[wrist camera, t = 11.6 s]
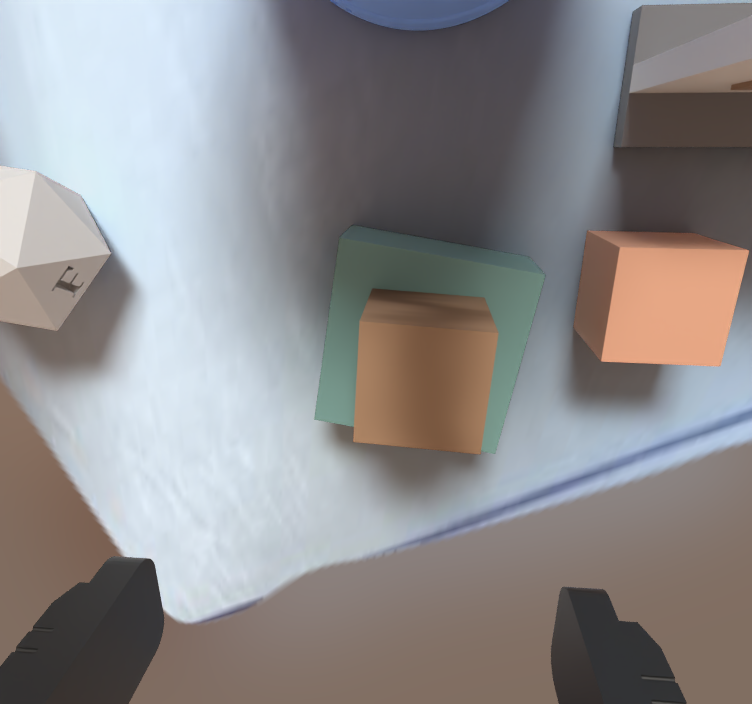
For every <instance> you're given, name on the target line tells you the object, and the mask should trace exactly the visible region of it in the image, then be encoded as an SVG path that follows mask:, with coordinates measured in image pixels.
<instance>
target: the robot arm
mask: <svg viewBox="0 0 752 704" xmlns="http://www.w3.org/2000/svg"><path fill="white" fill-rule="evenodd" d="M163 627H164V614H163V608H162V602H161V597H160V591H159V586H158V580H157V575H156V569H155V565H154V562H153V561H152V560H151V559H147V558H132V557H115V556H114V557H111V558H109V559H108V560H107V561H106V562H105V563H104V564H103V566H102V567H101V568H100V569H99V571H98V572H97V573H96V575H95V576H94V578H93V579H92V580H91V581H90V583H78V584H77V585H76V586H74V587H73V588H71V589H70V590H69V591H67V592H66V593H65V594H63V595H62V596H61V597H59V598H58V599H57V600H55V601H54V602H53V603H52V604H51V605H50V606H49V608H48V609H47V610H46V611H45V613H44V614H43V615H42V616H41V617H40V619H39V620H38V621H37V622H36V624H35V625H34V626H33V630H32V631H31V632H28V633H27V635H26V636H25V637H24V638H23V639H22V641H21V642H20V643H19V644H18V645H17V647H16V651H15V652H12V653H11V654H10V655H9V656H8V658H7V659H6V660H5V661H4V663H3V664H2V665H1V666H0V704H129V701H130V700H131V698H132V696H133V694H134V692H135V690H136V688H137V686H138V685H139V683H140V681H141V679H142V677H143V675H144V674H145V672H146V670H147V668H148V666H149V664H150V662H151V660H152V659H153V657H154V655H155V653H156V651H157V649H158V646H159V644H160V641H161V637H162V633H163ZM551 665H552V674H553V681H554V685H555V690H556V694H557V698H558V702H559V704H686V700H685V698H684V696H683V694H682V692H681V690H680V688H679V686H678V683H675V677H674V675H673V673H672V671H671V668H670V666H669V664H668V662H667V660H666V658H665V656H664V653H663V651H662V649H661V648H660V646H659V645H658V644H657V643H656V642H655V641H654V640H653V639H652V638H651V637H650V636H649V635H648V633H647V632H646V631H645V630H644V629H643V628H642V627H641V626H640V625H639V624H638V622H625V621H619V620H618V618H617V616H616V613H615V610H614V608H613V606H612V603H611V601H610V598H609V596H608V594H607V593H606V591H605V590H603V589H589V588H574V587H562V588H561V591H560V595H559V601H558V607H557V614H556V621H555V627H554V633H553V639H552V646H551Z"/></svg>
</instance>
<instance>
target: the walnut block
mask: <svg viewBox="0 0 752 704" xmlns="http://www.w3.org/2000/svg"><path fill="white" fill-rule="evenodd" d="M498 334H499V333H498V330H497V328H496V325H495V323H494V320H493V318H492V315H491V313H490V310H489V308H488V305H487V303H486V300H485V298H484V297H472V296H460V295H448V294H436V293H424V292H411V291H399V290H387V289H375V288H372V290H371V293H370V296H369V298H368V301H367V303H366V306H365V308H364V311H363V314H362V316H361V319H360V322H359V341H358V360H357V379H356V398H355V416H354V435H353V442H359V443H369V444H380V445H390V446H400V447H410V448H420V449H430V450H441V451H451V452H461V453H471V454H481V447H482V441H483V434H484V427H485V421H486V414H487V407H488V401H489V394H490V387H491V381H492V374H493V367H494V361H495V354H496V347H497V341H498Z"/></svg>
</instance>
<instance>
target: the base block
mask: <svg viewBox="0 0 752 704" xmlns="http://www.w3.org/2000/svg"><path fill="white" fill-rule="evenodd" d="M545 276H546V275H545V274H544V273H543V271H542V270H541V269H540V268H539V267H538V266H537V265H536V264H535V263H534V262H533V261H532V260H531V258H530V257H528V256H522V255H517V254H511V253H506V252H500V251H495V250H489V249H484V248H478V247H472V246H467V245H461V244H456V243H450V242H445V241H439V240H434V239H428V238H423V237H417V236H411V235H406V234H400V233H395V232H389V231H384V230H378V229H373V228H367V227H361V226H356V225H352V226H351V227H350V228H349V229H348V230H347V231H346V232H345V233H343V234H342V235H341V236H340V237H339V243H338V251H337V258H336V265H335V273H334V280H333V287H332V294H331V302H330V309H329V316H328V324H327V331H326V338H325V345H324V353H323V360H322V367H321V375H320V382H319V389H318V396H317V404H316V411H315V418H314V419H315V420H320V421H325V422H330V423H336V424H341V425H346V426H351V427H354V416H355V398H356V379H357V360H358V341H359V322H360V319H361V316H362V314H363V311H364V308H365V306H366V303H367V301H368V298H369V296H370V293H371V290H372V288H375V289H387V290H399V291H411V292H424V293H436V294H448V295H460V296H472V297H484V298H485V300H486V303H487V305H488V308H489V310H490V313H491V315H492V318H493V320H494V323H495V325H496V328H497V330H498V333H499V334H498V341H497V347H496V354H495V361H494V367H493V374H492V381H491V387H490V394H489V401H488V407H487V414H486V421H485V427H484V434H483V441H482V447H481V451H482V452H487V453H493V454H495V452H496V449H497V445H498V442H499V438H500V435H501V431H502V428H503V424H504V421H505V417H506V414H507V410H508V406H509V403H510V399H511V396H512V392H513V389H514V385H515V382H516V378H517V375H518V371H519V368H520V364H521V360H522V357H523V353H524V350H525V346H526V343H527V339H528V336H529V332H530V329H531V325H532V322H533V318H534V314H535V311H536V307H537V304H538V300H539V297H540V293H541V290H542V286H543V283H544V279H545Z"/></svg>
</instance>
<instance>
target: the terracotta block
mask: <svg viewBox="0 0 752 704" xmlns="http://www.w3.org/2000/svg"><path fill="white" fill-rule="evenodd" d="M748 253H749V250H747V249H743V248H740V247H737V246H734V245H730V244H727V243H724V242H721V241H718V240H714V239H711V238H708V237H705V236H702V235H698V234H695V233H675V232H628V231H587V235H586V242H585V249H584V256H583V263H582V270H581V277H580V284H579V291H578V298H577V305H576V312H575V319H574V325H573V328H574V329H575V330H576V331H577V333H578V334H579V335H580V336H581V337H582V339H583V340H584V341H585V342H586V344H587V345H588V346H589V347H590V349H591V350H592V351H593V352H594V353H595V355H596V356H597V357H598V358H599V360H600V361H601V362H625V363H650V364H674V365H699V366H721V362H722V358H723V354H724V350H725V346H726V342H727V338H728V334H729V330H730V326H731V322H732V318H733V314H734V310H735V306H736V302H737V298H738V294H739V290H740V286H741V282H742V278H743V274H744V269H745V265H746V261H747V257H748Z"/></svg>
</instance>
